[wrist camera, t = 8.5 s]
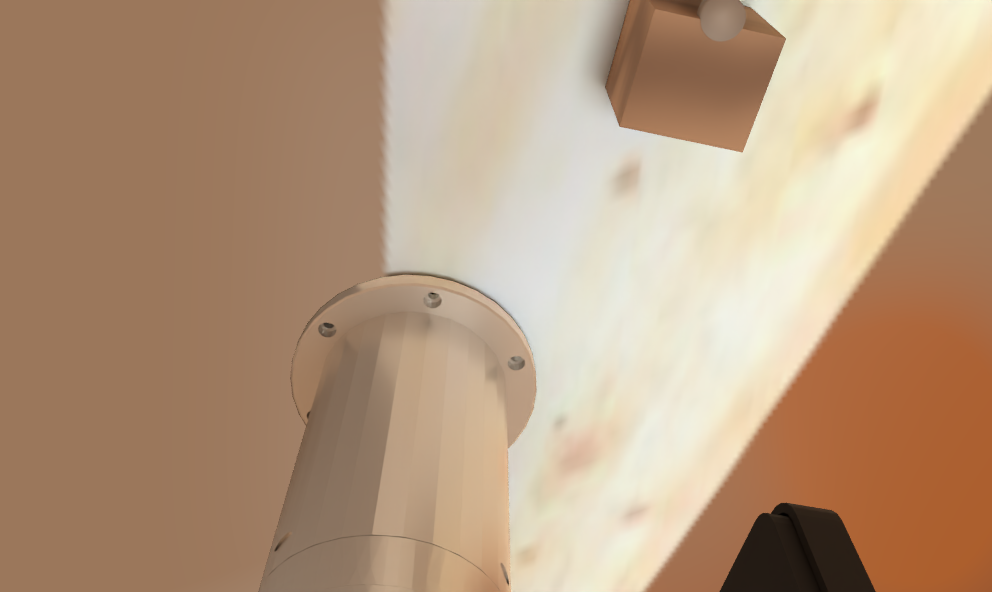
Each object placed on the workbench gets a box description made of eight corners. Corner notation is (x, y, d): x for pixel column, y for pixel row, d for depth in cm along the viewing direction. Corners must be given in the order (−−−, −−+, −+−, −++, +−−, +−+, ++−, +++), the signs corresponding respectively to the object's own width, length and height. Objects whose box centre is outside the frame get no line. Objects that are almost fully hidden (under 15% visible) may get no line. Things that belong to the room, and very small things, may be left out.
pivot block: (714, 110, 38) (743, 153, 34) (605, 86, 38) (620, 127, 33) (760, -17, 36) (797, 11, 31) (642, -45, 35) (664, -20, 31)
